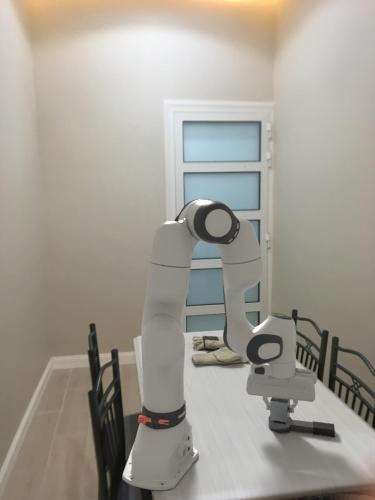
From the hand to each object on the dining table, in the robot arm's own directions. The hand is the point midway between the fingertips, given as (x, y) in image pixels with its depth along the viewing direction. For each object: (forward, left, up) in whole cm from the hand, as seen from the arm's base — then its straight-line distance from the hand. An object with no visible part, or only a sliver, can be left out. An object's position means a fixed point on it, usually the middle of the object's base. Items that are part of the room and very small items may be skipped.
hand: (280, 410), depth 122 cm
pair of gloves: (+55, +30, -6) cm, 63 cm away
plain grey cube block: (0, 0, -2) cm, 2 cm away
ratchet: (0, -6, -5) cm, 8 cm away
